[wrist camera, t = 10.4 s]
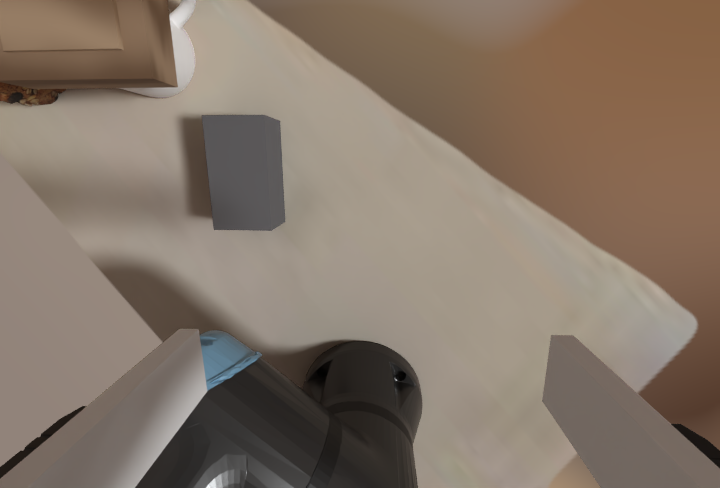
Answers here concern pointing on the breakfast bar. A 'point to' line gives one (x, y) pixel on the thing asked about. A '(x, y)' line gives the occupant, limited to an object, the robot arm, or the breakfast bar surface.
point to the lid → (86, 44)
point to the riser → (244, 171)
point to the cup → (177, 53)
